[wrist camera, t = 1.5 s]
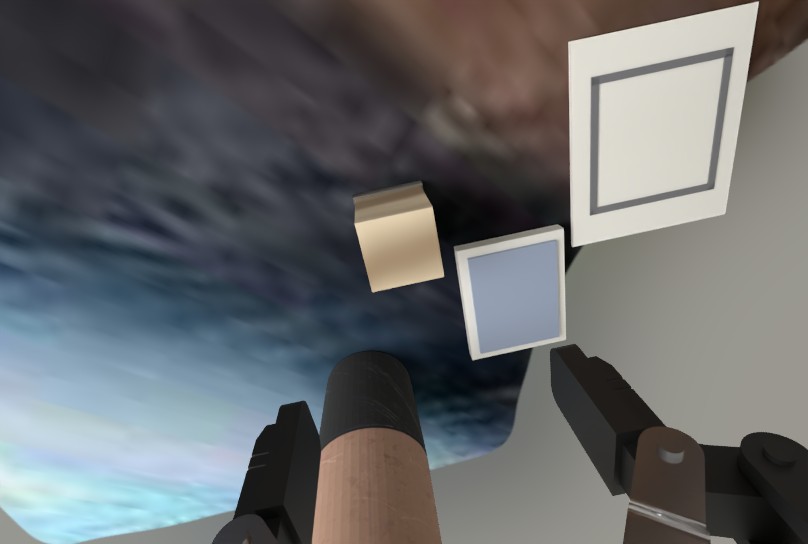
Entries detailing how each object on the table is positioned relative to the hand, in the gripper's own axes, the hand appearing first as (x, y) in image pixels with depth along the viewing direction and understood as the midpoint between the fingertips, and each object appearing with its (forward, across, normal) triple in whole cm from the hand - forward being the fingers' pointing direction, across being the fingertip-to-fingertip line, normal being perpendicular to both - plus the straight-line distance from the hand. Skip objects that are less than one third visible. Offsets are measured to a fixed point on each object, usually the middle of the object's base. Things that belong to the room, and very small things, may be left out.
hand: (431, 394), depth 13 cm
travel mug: (+18, +5, +14) cm, 23 cm away
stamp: (+18, 0, 0) cm, 18 cm away
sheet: (+18, -19, -2) cm, 26 cm away
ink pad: (+18, -8, +8) cm, 21 cm away
